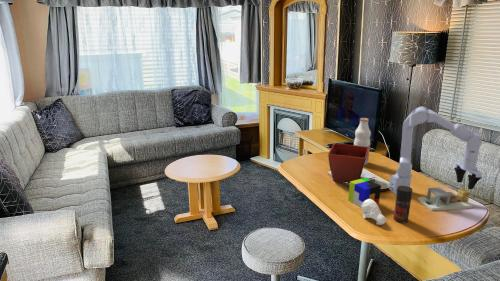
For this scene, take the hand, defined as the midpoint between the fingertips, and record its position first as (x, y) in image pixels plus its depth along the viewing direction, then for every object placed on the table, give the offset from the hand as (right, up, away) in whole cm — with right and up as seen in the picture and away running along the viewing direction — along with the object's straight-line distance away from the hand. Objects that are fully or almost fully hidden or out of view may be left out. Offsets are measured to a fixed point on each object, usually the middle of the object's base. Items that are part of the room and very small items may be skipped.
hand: (464, 185), depth 176 cm
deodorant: (-36, -14, -13) cm, 41 cm away
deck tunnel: (-10, -9, +1) cm, 13 cm away
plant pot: (-49, 0, +29) cm, 57 cm away
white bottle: (-34, +7, +53) cm, 63 cm away
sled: (-4, -7, +2) cm, 9 cm away
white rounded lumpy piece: (-48, -14, -14) cm, 52 cm away
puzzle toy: (-47, -9, +3) cm, 48 cm away
